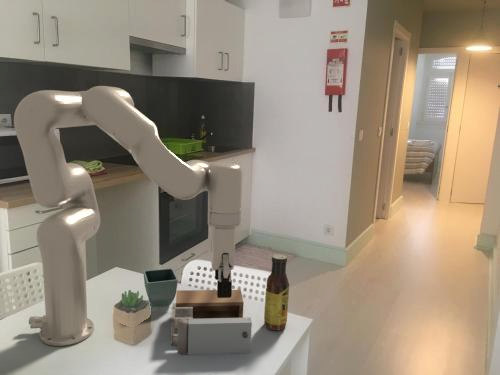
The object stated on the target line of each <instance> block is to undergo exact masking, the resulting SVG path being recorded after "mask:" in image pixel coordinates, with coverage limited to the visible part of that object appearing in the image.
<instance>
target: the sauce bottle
mask: <svg viewBox="0 0 500 375" xmlns="http://www.w3.org/2000/svg"><path fill="white" fill-rule="evenodd" d="M287 262H288V256H286V255H284V254H281V253H280V254H278V253H277V254H276V253H275V254H273V255H272V256H271V272H270V274H269V275H268V276H267V278H266V288H265V298H264V299H265V300H264V301H265V302H264V313H263V314H264V315H263V316H264V318H263V321H264V322H263V323H264V324H263V325H264V326H265V327H266V328H267V329H269V330H271V331H278V332H279V331H281V330H283V329H285V328H286V326H287V322H288V310H289V309H288V308H289V298H290V297H289V294H290V284H289V280H288V276H287V273H286V272H287V270H286V269H287Z"/></svg>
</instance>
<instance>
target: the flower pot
mask: <svg viewBox="0 0 500 375" xmlns="http://www.w3.org/2000/svg"><path fill="white" fill-rule="evenodd" d="M143 282H144V289H145V292H146V295H147V298H148V301H150V302H149V304H150V303H151V304H150V306H151V307H152V308H160V307H161V308H162V307H169V306H171V305H172V304H173V302H174V300H175V299H176V294H177V291H178V282H179V278H178V277H177V275H176V273H175V271H174V269H173V268H171V267H170V268H169V267H168V268H161V269H152V270H151V269H150V270H143Z"/></svg>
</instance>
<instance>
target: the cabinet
mask: <svg viewBox="0 0 500 375" xmlns="http://www.w3.org/2000/svg"><path fill="white" fill-rule="evenodd" d="M175 303H176V307H193V319H206V318H244V303H245V302H244V298H243V293H242V290H241V289H232V296H231V297H230V298H218V297H217V289H205V290H204V289H203V290H201V289H198V290H197V289H196V290H195V289H194V290H193V289H192V290H191V289H190V290H189V289H188V290H183V289H182V290H177V291H176V295H175Z"/></svg>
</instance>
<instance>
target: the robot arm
mask: <svg viewBox="0 0 500 375" xmlns="http://www.w3.org/2000/svg"><path fill="white" fill-rule="evenodd" d="M84 126H85V127H86V126H96V127H98V128H99V129H100V130H101V131H102V132H104V133H106V134H107V135H108V136H109V137H111V139H113V140H114V141H115V142H117V143H118V144H119V145H120V146H122V147H123V148H124V149H125V150H127V152H129V154H130V155H131V156H132V158H133V159H134V161H135V163H136V164H137V166H138V167H139V168H140V169H141V172H143V173H144V175H145V176H147V177H148V178H149V180H151V181H152V182H153V183H154V184H156V185H157V186H158V187H159V188H161V189H162V190H163V191H165V192H166V193H167V194H168V195H170V196H172V197H174V198H176V199H178V200H185V201H186V200H191V199H194V198H196V197H197V195H199V194H200V193H203V192H207V225H208V226H209V227H211V234H210V235H211V237H210V238H211V239H210V242H211V243H210V245H211V246H210V263H211V270H213V271H214V272H215V273H214V278H215V279H214V280H215V281H216V280H217V283H216V284H217V286H216V290H217V297H218V298H230V297H231V296H232V290H233V280H232V270H234V268H235V256H236V254H235V253H236V228H238V227H240V226H241V222H242V193H243V192H242V190H243V188H242V186H243V169H242V167H241V166H240V165H239V164H237V163H232V162H217V163H216V162H210V161H205V160H201V159H200V160H198V159H191V160H188V161H183V160H182V159H180V158H179V157H178V156H176V155H175V154H174V153H173V152H171V150H169V149H168V148H167V147H166V145H164V143H163V142H162V140H161V139H160V136H159V131H158V127H157V125H156V124H155V122H154V121H152V120H150V119H149V118H148V117H147V116H146V115H145V114H143V113H142V112H141V111H139V110H138V109H137V108H136V107H135V102H134V99H133V97H132V96H131V95H130V93H129V92H128V91H126V90H125V89H122V88H121V87H116V86H107V85H97V86H92V87H91V88H89V89H87V90H80V91H67V90H66V91H65V90H55V89H53V90H52V89H49V90H48V89H44V90H38V91H33V92H32V93H30V94H28V95H26V96H25V97H23V98H22V99H21V100H20V102H19V103H18V105H17V107H16V108H15V112H14V116H13V127H14V131H15V133H16V138H17V140H18V142H19V146H20V148H21V151H22V155H23V159H24V163H25V168H26V172H27V175H28V180H29V185H30V187H31V191H32V195H33V198H34V200H35V201H36V203H37V205H39V206H41V207H42V208H47V209H53V208H57V207H61V206H62V209H61V210H58V211H57V212H54V213H51V214H50V215H48V216H47V217H45V218H44V219H43V220H42V221H41V222H40V224H39V225H38V228H37V230H36V242H37V245H38V249H39V252H40V256H41V257H40V258H41V264H42V276H43V278H42V279H43V291H44V292H43V293H44V308H45V309H44V310H45V314H44V315H42V316H35V315H34V316H29V318H28V324H29V327H30V329H40V330H39V339H40V341H41V342H42V343H43V344H46V345H48V346H54V347H55V346H56V347H63V346H70V345H74V344H77V343H80V342H82V341H84V340H86V339H87V338H89V337H90V336H91V335H92V334H93V332H94V328H95V326H94V325H95V324H94V321H93V320H91V319H90V318H89V317H88V305H87V302H88V301H87V280H86V279H87V276H86V273H87V272H86V262H85V258H84V255H83V253H82V251H81V244H83V243H84V242H86V241H87V240H89V239H91V238H92V237H93V236H95V235H96V234H97V233H98V231H99V228H100V227H101V214H100V209H99V205H98V201H97V197H96V196H97V195H96V192H95V187H94V183H93V181H92V178H91V175H90V174H89V173H88V171H87V170H86V168H84V167H83V166H82V165H80V164H77V163H73V162H67V161H66V157H65V153H64V149H63V146H62V143H61V142H60V140H59V138H58V137H57V135H56V134H55V132H54V131H55V130H56V129H61V128H62V129H63V128H64V129H65V128H73V127H75V128H76V127H84Z"/></svg>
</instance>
